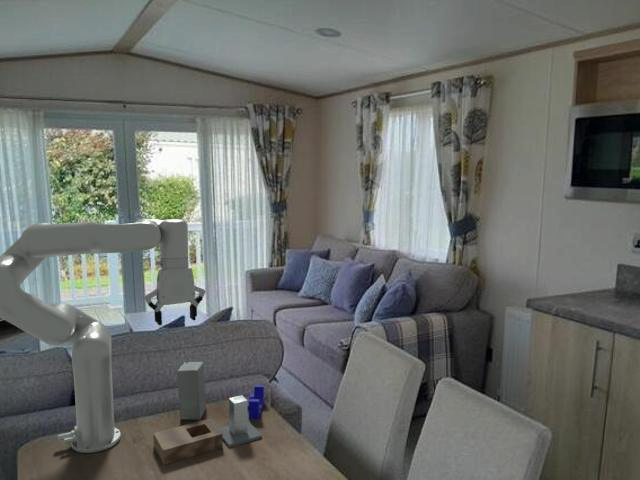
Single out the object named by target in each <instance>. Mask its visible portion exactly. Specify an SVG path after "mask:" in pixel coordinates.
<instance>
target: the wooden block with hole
mask: <svg viewBox="0 0 640 480" xmlns="http://www.w3.org/2000/svg"><path fill="white" fill-rule="evenodd" d="M153 448H154V449H155V451H156V453H157V455H158V457H159V459H160V461H161V463H162V464H163V465H167V464H168V465H169V464H171V463H175V462H177V461H178V462H179V461H181V460H184V459H188V458H191V457H195V456H198V455H202V454H204V453H208V452H211V451H214V450H215V451H216V450H218V449H222V448H223V440H222V433H221V432H220V430H219V429H218V427H217V426H216V424H215V423H214V422H213V421H212V419H211V418H205V419H203V420H197V421H195V422H192V423H191V422H190V423H187V424H184V425H179V426H176V427H172V428H168V429H163V430H160V431H156V432H153Z"/></svg>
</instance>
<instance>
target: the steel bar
mask: <svg viewBox="0 0 640 480" xmlns="http://www.w3.org/2000/svg"><path fill="white" fill-rule="evenodd" d="M247 406H248V399H246V397H244V395H242V394H240V395H236V396H233V397H229V398H228V426H229V431H230V432H231V433H232V435H233V436H234V437H237V436H240V435H244V434H247V433H248V421H249V416H248V410H247Z"/></svg>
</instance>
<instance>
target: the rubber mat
mask: <svg viewBox="0 0 640 480" xmlns="http://www.w3.org/2000/svg"><path fill="white" fill-rule="evenodd" d="M217 428H218V427H217ZM218 429H219V430H220V432H221V433H222V442H224V443H225V444H226V446H227V447H228V448H232V447H236V446H239V445H243V444H247V443H248V442H249V443H250V442H253V441H256V440H259V439H262V438H263V435H262V434H261V433H260V431H259V430H257V428H256V427H255V426H254V425H253V424H252V423H251V422H250V421H249V420H248V433H247V434H244V435H240V436H237V437H234V436H233V435H232V433H231V432H230V431H229V425H226V426H225V425H224V426H223V427H219V428H218Z"/></svg>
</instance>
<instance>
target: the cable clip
mask: <svg viewBox="0 0 640 480" xmlns="http://www.w3.org/2000/svg"><path fill="white" fill-rule="evenodd" d="M253 390H254V391H253V393H250V394H249V398H248V401H247V409H248V410H247V411H248V420H255V419H258V421H259V420H260V416H261V414H260V413H262V410H263V407H264V403H265V385H264V384H254V388H253Z"/></svg>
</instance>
